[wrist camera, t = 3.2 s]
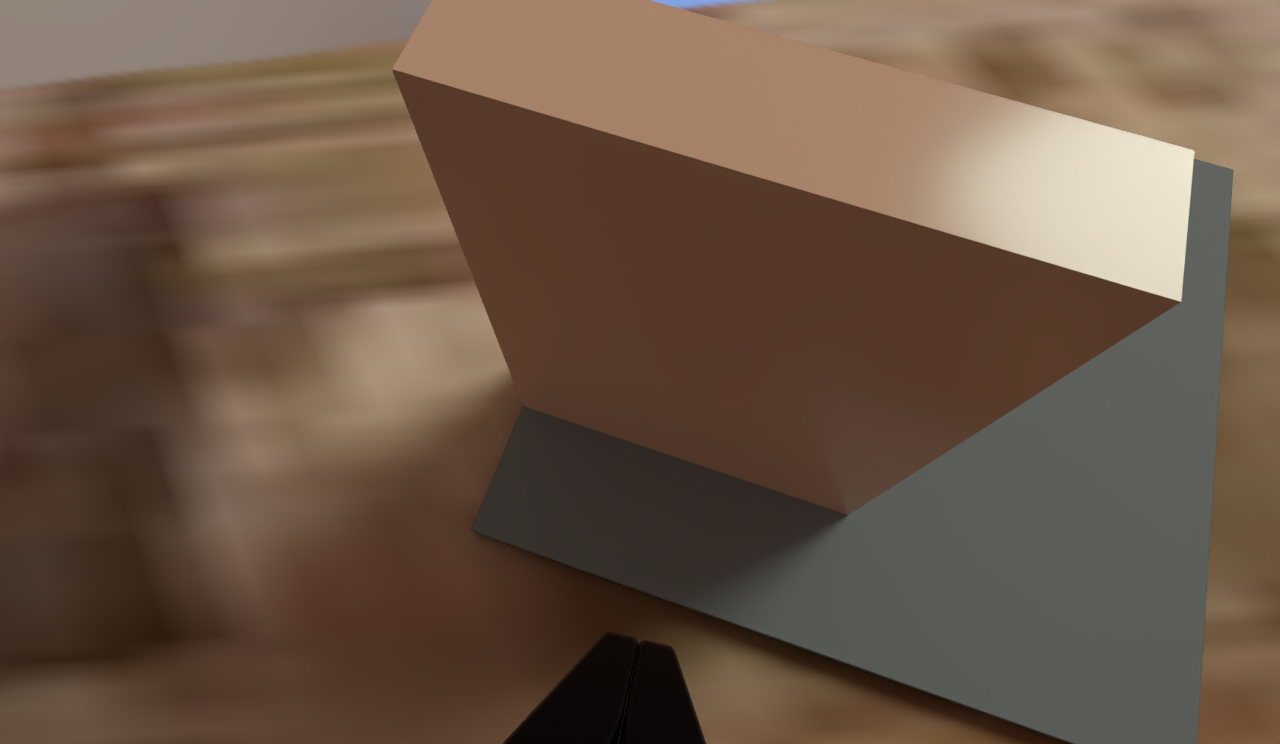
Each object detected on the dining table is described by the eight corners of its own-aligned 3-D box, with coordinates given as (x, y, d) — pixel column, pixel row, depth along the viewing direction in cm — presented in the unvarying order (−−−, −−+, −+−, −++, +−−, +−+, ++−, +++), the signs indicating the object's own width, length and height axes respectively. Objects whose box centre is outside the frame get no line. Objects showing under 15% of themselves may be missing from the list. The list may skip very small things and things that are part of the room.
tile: (848, 515, 17) (1181, 301, 7) (523, 405, 18) (392, 69, 8) (866, 437, 18) (1196, 138, 8) (552, 335, 19) (467, -60, 8)
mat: (1180, 782, 16) (1194, 786, 15) (474, 532, 17) (471, 529, 17) (1222, 178, 21) (1233, 169, 21) (684, 28, 23) (685, 18, 22)
